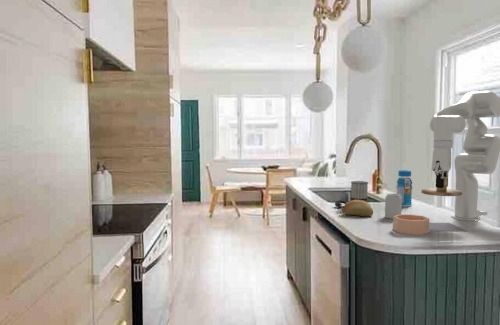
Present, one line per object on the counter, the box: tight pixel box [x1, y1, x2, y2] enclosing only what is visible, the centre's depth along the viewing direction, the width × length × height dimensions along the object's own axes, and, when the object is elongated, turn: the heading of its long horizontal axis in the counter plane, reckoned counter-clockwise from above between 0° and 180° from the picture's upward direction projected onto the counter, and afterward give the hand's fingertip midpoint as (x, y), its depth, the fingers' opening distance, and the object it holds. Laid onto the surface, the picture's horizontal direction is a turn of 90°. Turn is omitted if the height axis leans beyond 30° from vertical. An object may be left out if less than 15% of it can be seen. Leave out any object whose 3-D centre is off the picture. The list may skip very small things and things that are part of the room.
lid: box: [421, 177, 462, 197], centre depth 181 cm, size 16×16×7 cm
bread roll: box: [341, 199, 374, 218], centre depth 209 cm, size 10×15×8 cm, turn 76°
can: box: [384, 192, 403, 220], centre depth 201 cm, size 8×8×12 cm
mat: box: [429, 222, 469, 233], centre depth 182 cm, size 16×17×1 cm
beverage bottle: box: [396, 169, 413, 208], centre depth 238 cm, size 8×8×20 cm
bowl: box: [392, 213, 430, 235], centre depth 174 cm, size 13×13×6 cm
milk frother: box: [334, 180, 369, 209], centre depth 229 cm, size 14×16×15 cm
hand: (441, 186), depth 181 cm, fingers closed on lid, 4 cm apart
